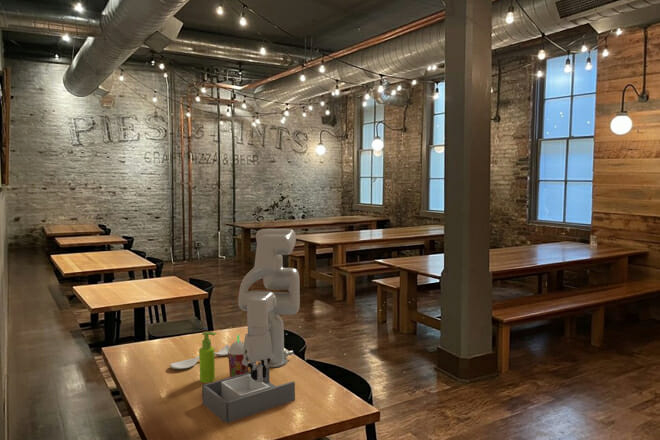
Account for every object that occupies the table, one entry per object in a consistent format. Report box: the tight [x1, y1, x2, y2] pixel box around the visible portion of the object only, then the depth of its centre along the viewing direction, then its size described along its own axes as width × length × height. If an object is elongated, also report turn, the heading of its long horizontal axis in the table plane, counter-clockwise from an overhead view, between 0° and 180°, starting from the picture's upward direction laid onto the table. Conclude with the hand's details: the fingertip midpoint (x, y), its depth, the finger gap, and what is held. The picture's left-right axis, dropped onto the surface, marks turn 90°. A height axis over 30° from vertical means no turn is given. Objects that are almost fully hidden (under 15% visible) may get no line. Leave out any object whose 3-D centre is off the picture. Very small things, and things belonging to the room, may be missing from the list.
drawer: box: [221, 364, 270, 401], centre depth 185 cm, size 13×15×11 cm
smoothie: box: [227, 334, 249, 378], centre depth 201 cm, size 8×8×20 cm
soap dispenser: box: [198, 331, 217, 384], centre depth 205 cm, size 6×7×20 cm
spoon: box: [169, 344, 231, 370], centre depth 227 cm, size 9×32×4 cm, turn 136°
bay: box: [201, 367, 296, 424], centre depth 185 cm, size 28×19×7 cm
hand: (258, 377), depth 188 cm, fingers closed on drawer, 3 cm apart
